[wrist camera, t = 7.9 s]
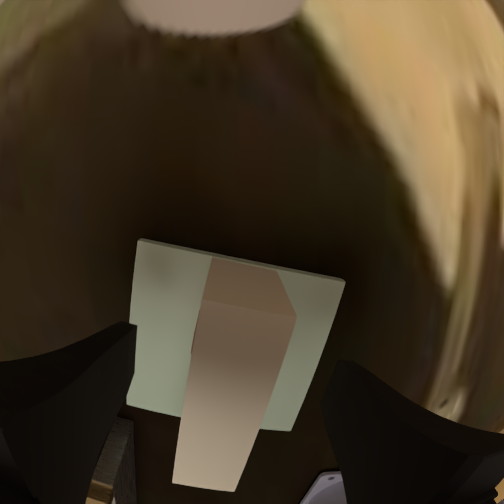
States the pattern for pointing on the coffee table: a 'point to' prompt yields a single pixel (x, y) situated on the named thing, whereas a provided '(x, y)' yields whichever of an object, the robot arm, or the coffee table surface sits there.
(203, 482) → the beige rectangular block
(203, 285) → the pad
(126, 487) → the frame
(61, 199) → the coffee table surface
